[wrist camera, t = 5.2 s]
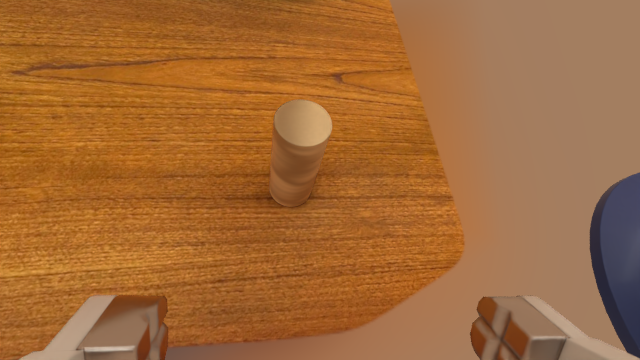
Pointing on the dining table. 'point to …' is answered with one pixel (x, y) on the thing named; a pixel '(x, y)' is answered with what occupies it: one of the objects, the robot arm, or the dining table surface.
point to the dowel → (297, 150)
